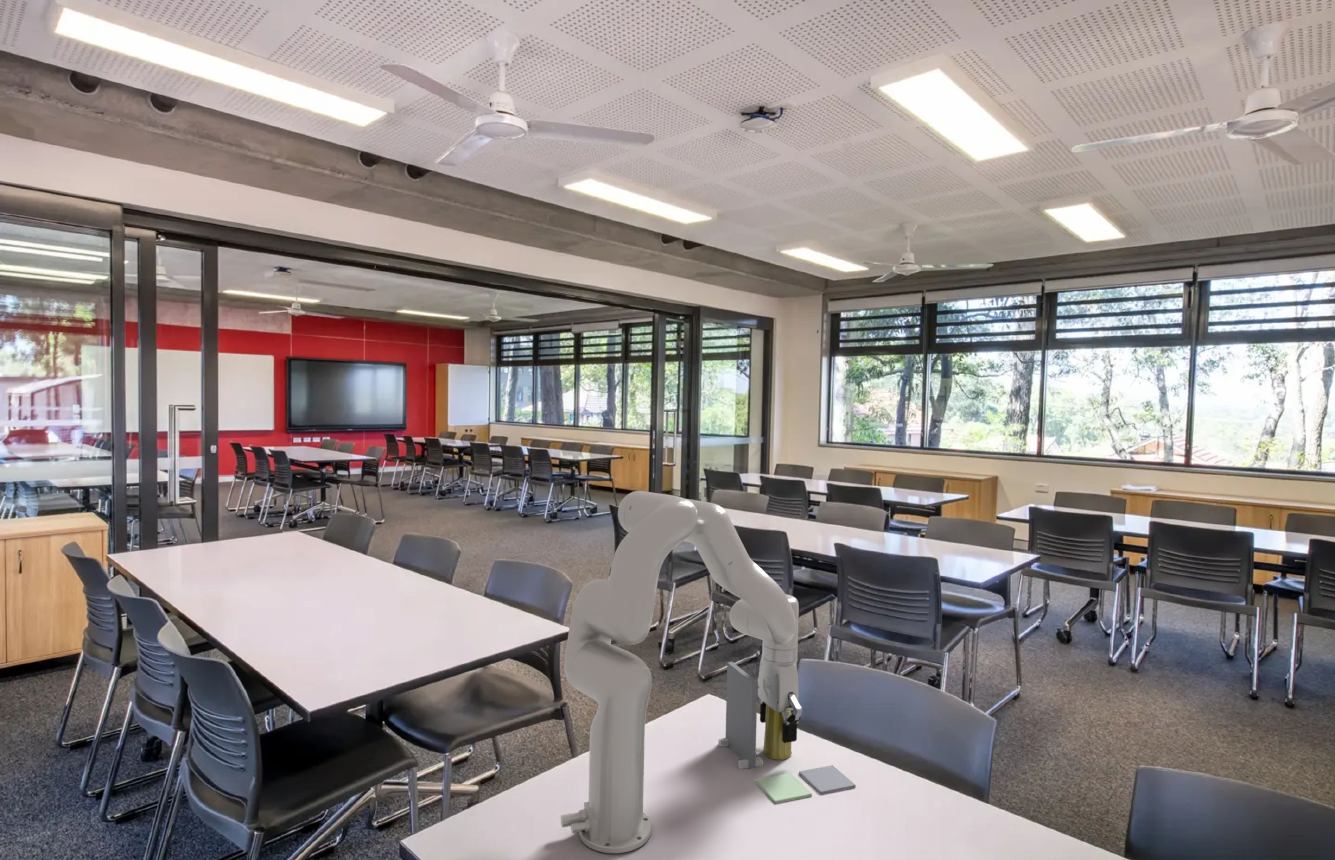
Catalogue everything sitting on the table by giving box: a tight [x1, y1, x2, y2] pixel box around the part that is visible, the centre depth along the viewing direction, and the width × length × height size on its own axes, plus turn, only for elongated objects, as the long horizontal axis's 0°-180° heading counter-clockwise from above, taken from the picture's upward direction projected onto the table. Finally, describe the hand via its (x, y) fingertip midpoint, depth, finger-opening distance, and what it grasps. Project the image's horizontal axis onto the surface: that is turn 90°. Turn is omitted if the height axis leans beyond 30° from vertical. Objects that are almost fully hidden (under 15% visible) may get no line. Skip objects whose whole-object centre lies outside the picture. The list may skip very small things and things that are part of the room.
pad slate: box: [798, 764, 857, 795], centre depth 139 cm, size 8×8×1 cm
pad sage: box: [754, 772, 813, 804], centre depth 135 cm, size 8×8×1 cm
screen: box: [717, 661, 764, 770], centre depth 148 cm, size 5×12×18 cm, turn 20°
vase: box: [762, 704, 793, 761], centre depth 149 cm, size 6×6×14 cm
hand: (777, 731), depth 150 cm, fingers open, 9 cm apart
